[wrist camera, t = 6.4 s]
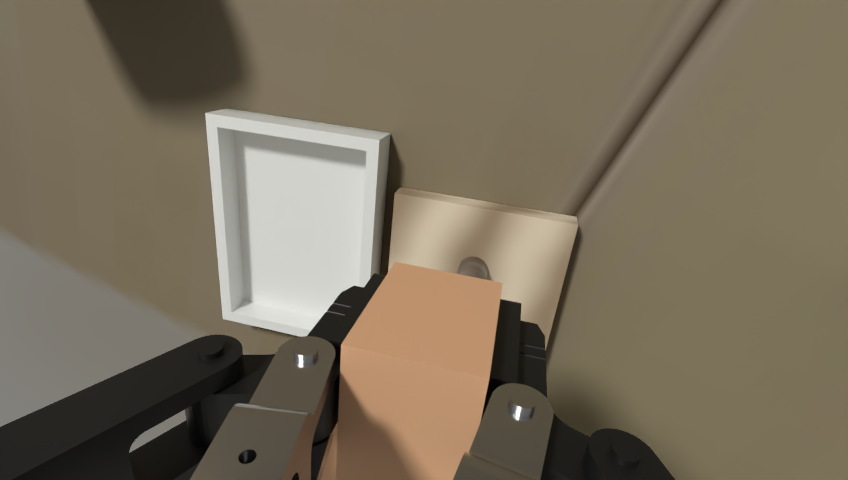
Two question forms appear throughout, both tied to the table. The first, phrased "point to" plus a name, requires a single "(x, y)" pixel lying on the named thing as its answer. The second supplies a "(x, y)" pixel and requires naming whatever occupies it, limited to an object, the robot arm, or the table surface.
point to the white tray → (293, 214)
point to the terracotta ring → (414, 377)
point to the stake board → (487, 246)
